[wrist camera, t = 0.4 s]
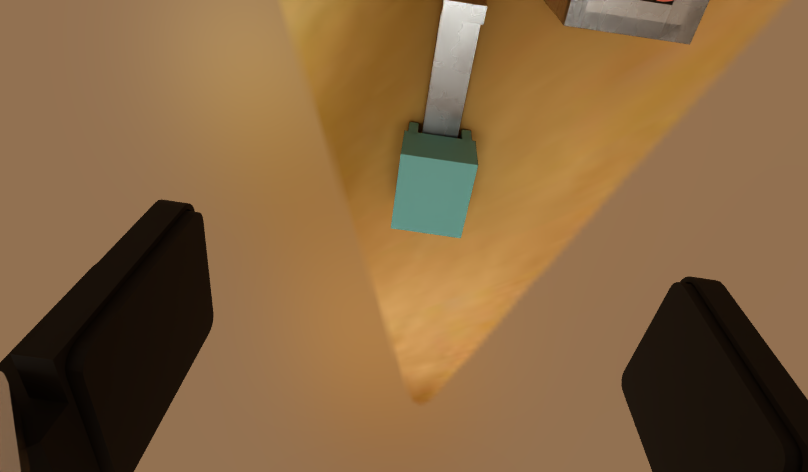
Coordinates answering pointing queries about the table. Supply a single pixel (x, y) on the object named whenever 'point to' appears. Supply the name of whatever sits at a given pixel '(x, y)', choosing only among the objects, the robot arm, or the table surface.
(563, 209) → the table surface
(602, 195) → the table surface
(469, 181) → the carriage
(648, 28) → the frame
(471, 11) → the rail
